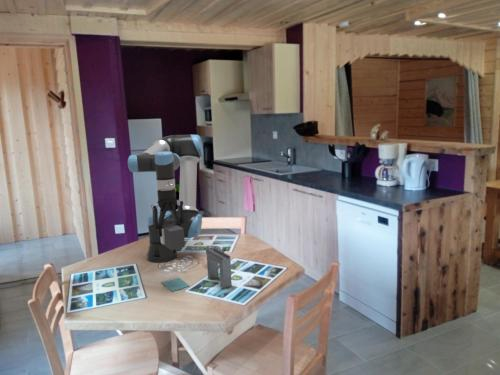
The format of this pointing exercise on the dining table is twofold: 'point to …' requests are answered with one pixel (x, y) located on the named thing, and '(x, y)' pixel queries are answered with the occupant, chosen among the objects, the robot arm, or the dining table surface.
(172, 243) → the plug
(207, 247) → the mechanical component
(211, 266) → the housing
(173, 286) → the mat
